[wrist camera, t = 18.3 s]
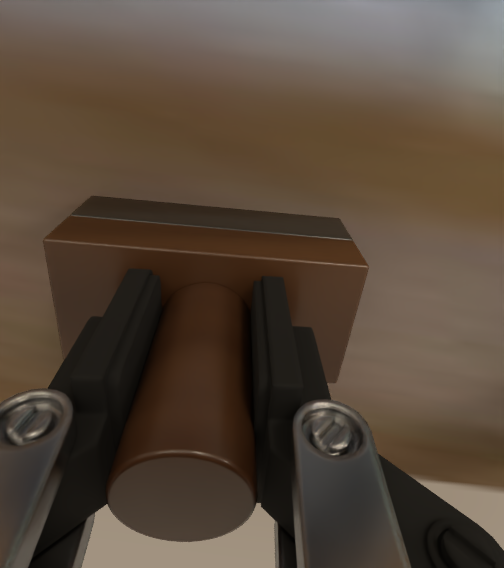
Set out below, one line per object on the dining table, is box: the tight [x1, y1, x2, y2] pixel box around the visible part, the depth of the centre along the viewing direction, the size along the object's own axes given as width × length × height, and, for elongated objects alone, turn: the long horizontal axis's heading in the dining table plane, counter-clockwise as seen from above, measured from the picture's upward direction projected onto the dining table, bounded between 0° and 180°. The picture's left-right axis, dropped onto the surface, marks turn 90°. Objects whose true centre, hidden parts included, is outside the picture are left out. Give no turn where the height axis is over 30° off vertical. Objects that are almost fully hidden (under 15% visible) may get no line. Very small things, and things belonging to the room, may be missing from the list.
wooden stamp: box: [43, 196, 369, 542], centre depth 10 cm, size 4×8×8 cm, turn 84°
